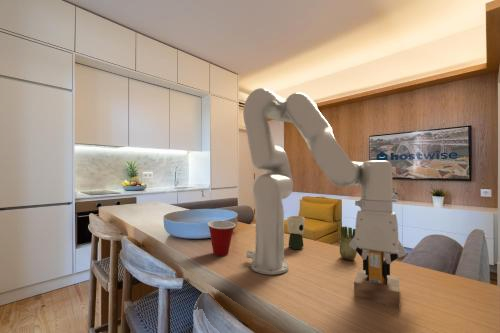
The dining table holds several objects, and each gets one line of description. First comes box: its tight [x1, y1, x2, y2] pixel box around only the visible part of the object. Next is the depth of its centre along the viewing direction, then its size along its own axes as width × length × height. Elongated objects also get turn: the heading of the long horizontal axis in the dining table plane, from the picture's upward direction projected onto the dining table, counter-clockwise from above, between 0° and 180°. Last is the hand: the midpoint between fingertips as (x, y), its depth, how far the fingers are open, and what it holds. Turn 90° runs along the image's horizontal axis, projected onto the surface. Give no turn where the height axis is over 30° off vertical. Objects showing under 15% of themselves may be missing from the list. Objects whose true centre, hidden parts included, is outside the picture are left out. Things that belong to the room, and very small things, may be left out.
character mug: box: [287, 215, 306, 250], centre depth 102 cm, size 11×7×13 cm, turn 150°
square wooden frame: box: [353, 268, 400, 309], centre depth 64 cm, size 10×10×4 cm
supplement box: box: [368, 250, 385, 284], centre depth 64 cm, size 3×4×10 cm
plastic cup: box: [207, 220, 236, 257], centre depth 93 cm, size 11×11×12 cm
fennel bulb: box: [339, 226, 358, 261], centre depth 89 cm, size 6×5×12 cm
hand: (376, 274), depth 64 cm, fingers closed on supplement box, 3 cm apart
